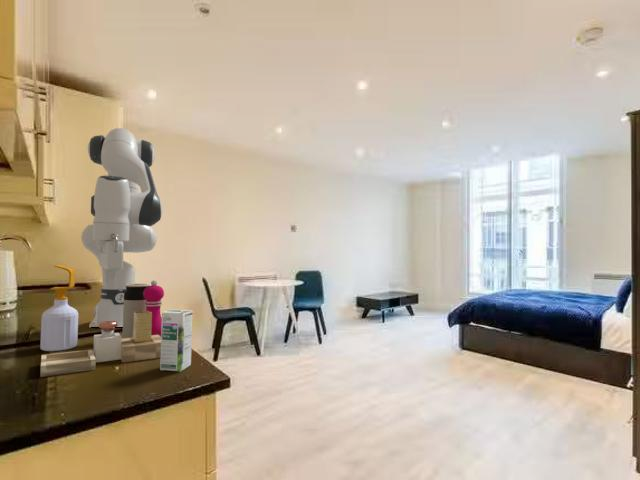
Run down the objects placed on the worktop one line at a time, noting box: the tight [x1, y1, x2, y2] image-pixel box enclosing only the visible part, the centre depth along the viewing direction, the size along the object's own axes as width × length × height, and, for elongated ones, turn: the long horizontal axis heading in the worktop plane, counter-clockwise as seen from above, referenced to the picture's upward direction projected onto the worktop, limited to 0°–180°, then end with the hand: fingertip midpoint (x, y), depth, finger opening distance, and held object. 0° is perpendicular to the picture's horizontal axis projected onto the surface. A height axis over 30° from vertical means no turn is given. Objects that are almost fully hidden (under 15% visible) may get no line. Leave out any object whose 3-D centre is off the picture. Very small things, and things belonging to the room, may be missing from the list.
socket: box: [120, 335, 161, 363], centre depth 109 cm, size 11×11×4 cm
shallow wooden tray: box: [39, 348, 97, 378], centre depth 96 cm, size 11×11×2 cm
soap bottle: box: [39, 264, 79, 352], centre depth 114 cm, size 9×9×25 cm
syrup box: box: [159, 309, 194, 372], centre depth 98 cm, size 6×6×14 cm
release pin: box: [98, 321, 117, 338], centre depth 105 cm, size 4×4×9 cm
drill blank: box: [133, 311, 152, 343], centre depth 109 cm, size 4×4×12 cm
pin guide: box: [92, 332, 122, 363], centre depth 105 cm, size 6×6×6 cm
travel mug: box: [121, 282, 151, 338], centre depth 127 cm, size 8×8×18 cm
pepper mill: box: [143, 279, 165, 337], centre depth 121 cm, size 7×7×20 cm
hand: (109, 284), depth 105 cm, fingers closed
